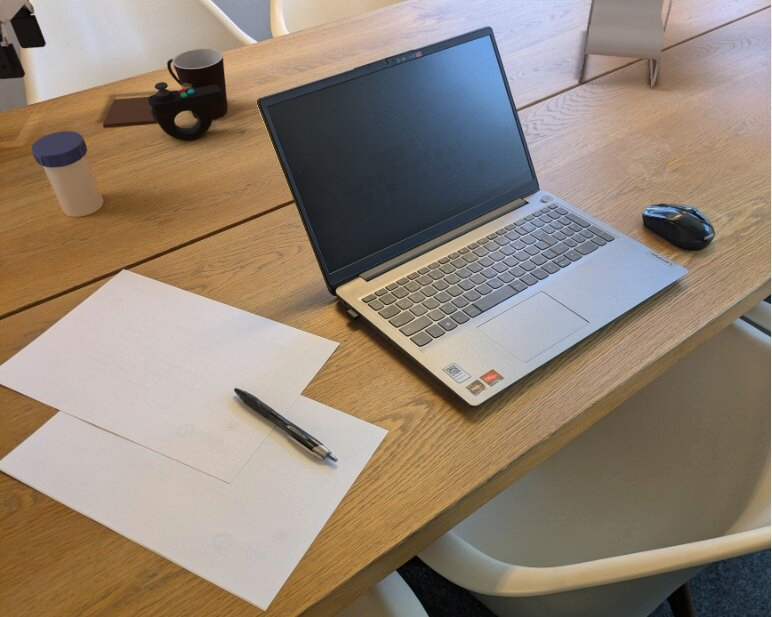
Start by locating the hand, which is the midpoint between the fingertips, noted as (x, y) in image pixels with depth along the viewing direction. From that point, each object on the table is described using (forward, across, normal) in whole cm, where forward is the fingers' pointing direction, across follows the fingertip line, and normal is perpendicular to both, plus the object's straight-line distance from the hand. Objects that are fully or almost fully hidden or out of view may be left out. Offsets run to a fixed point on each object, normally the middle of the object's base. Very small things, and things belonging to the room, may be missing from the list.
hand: (23, 61), depth 85 cm
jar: (+22, 0, 0) cm, 22 cm away
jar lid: (+12, 0, 0) cm, 12 cm away
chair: (+22, -35, +96) cm, 105 cm away
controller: (+22, -19, +15) cm, 33 cm away
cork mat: (+22, -30, +3) cm, 37 cm away
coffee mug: (+22, -29, +16) cm, 40 cm away
